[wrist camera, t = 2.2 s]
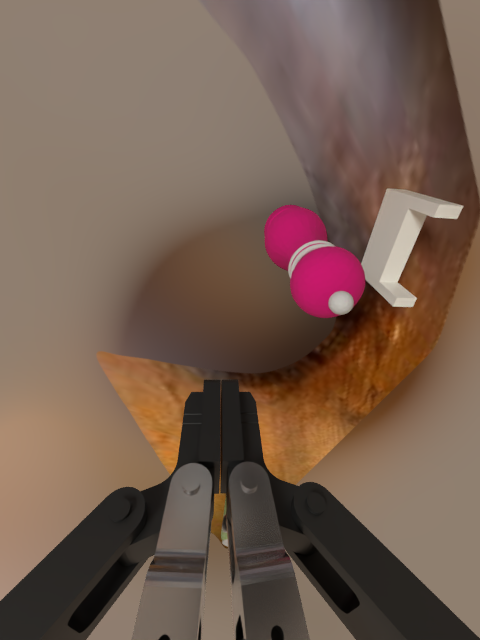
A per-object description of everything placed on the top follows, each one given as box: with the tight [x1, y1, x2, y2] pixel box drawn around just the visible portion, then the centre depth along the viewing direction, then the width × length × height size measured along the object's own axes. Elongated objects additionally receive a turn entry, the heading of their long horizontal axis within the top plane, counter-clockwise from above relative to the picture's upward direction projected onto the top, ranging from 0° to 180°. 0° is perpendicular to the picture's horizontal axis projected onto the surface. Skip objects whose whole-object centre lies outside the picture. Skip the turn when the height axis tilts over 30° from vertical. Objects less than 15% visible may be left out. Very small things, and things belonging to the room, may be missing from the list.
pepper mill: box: [264, 205, 365, 318], centre depth 27 cm, size 7×7×20 cm
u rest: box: [361, 188, 463, 307], centre depth 33 cm, size 11×2×10 cm, turn 176°
